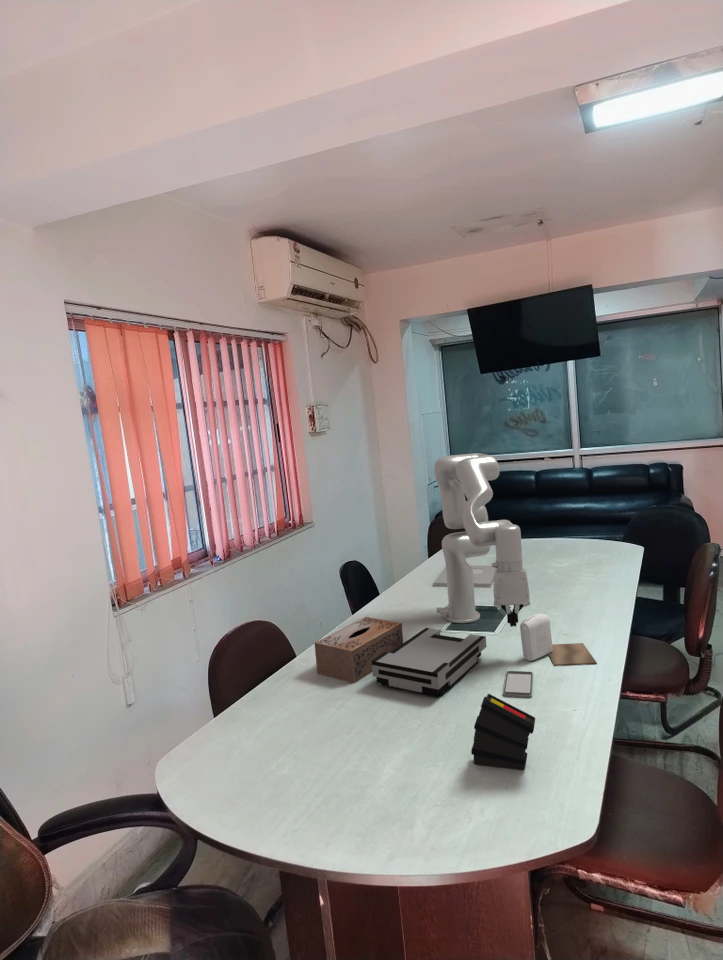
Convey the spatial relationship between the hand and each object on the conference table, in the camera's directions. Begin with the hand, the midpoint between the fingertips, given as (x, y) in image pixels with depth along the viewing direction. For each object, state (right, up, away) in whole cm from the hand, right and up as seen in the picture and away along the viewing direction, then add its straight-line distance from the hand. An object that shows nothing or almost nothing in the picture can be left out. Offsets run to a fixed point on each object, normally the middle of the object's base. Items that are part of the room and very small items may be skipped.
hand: (512, 625), depth 187 cm
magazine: (-15, -17, -54) cm, 59 cm away
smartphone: (-3, -13, -18) cm, 22 cm away
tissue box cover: (-46, -14, +7) cm, 48 cm away
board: (+17, -9, 0) cm, 19 cm away
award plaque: (+2, -1, +93) cm, 93 cm away
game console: (-25, -13, -4) cm, 28 cm away
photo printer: (+8, -9, 0) cm, 12 cm away
